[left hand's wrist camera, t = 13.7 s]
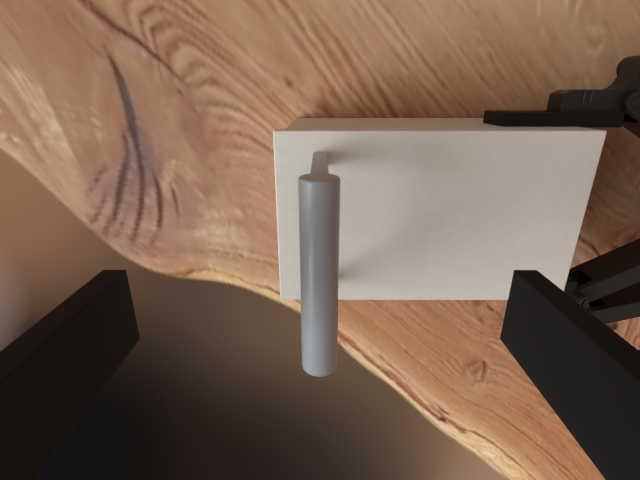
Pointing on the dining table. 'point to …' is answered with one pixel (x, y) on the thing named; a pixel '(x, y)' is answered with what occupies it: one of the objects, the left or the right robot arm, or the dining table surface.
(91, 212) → the dining table surface
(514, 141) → the lid
